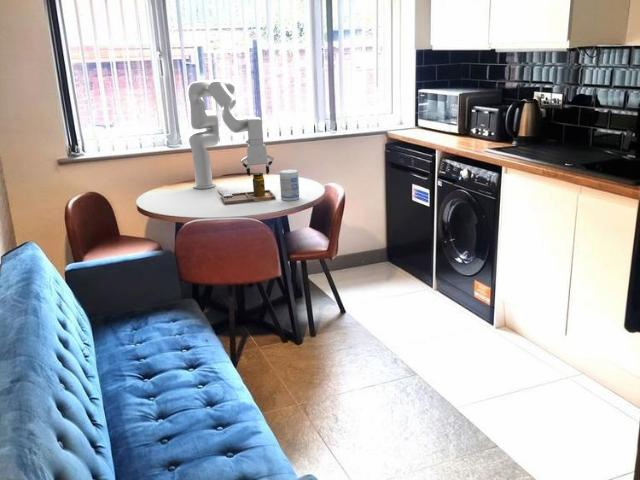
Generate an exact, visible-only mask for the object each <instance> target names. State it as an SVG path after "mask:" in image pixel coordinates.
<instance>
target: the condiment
mask: <svg viewBox="0 0 640 480" xmlns="http://www.w3.org/2000/svg"><path fill="white" fill-rule="evenodd" d="M252 187H253V191H254V194H253V195H249V196H250V197H252V198H258V197H264V196H268V195H265V190H266V187H265V177H264V173H263V172H254V173H253V174H252Z"/></svg>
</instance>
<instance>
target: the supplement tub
mask: <svg viewBox="0 0 640 480" xmlns="http://www.w3.org/2000/svg"><path fill="white" fill-rule="evenodd" d="M298 172H299V171H298V169H283V170H281V171H279V184H280V185H279V186H280V199H281V200H282V201H284V202H292V201H297V200H298V199H300V187H299V185H300V183H299V173H298Z"/></svg>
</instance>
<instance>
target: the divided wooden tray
mask: <svg viewBox="0 0 640 480" xmlns="http://www.w3.org/2000/svg"><path fill="white" fill-rule="evenodd" d="M231 194H232V195H233V198H228V199H227V198H224V196H223V195H224V194H220V196H221V197H220V198H221V200H222V202H223V204H224V206H225V205H235V204H243V203H252V202H253V203H254V202H264V201H272V200H276V195H275V194H274V193H273V192H272V191H271V189H265V195H268V196H264V197H258V198H252V197H250V196H249V195H253V194H254V190H253V191H245V192H235V193H234V192H233V193H231Z"/></svg>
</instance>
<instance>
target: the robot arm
mask: <svg viewBox="0 0 640 480" xmlns="http://www.w3.org/2000/svg"><path fill="white" fill-rule="evenodd" d="M235 90H236V89H235V85H234V83H233V82H232V81H231V80H229V79H210V80H198V81H194V82H191V83H190V84H188V87H187V90H186V91H187V92H186V93H187V99H188V103H189V113H190V114H189V115H190V117H189V118H190V125H191V127H192V128H193V129H195V130H198V131H194V132H192V133H191V134H190V135H189V139H188V142H189V146H190V149H191V153H192V162H193V169H194V170H193V171H194V178H195V179H194V180H195V183H194V184H193V187H192V188H193V189H197V190H198V189H199V190H203V189H204V190H205V189H212V188H215V187H216V183H215V182H213V176H212V165H211V164H212V163H211V156H210V153H209V151H208V150H207V148H209V147H214V146H216V145H218V143H219V142H220V141H219V140H220V131H219V130H220V129H219V117H218V115H217V114H216V112H215V111H214V110H210V109H208V110H206V103H205V100H204V99H203V98H209V97H212V98H213V100H214V101H215V102H216V103H217V104H218V106H220V108H221V117H222V121H223V122H224V125H226V126H227V128H228V129H229V130H230V131H231V132H232V133H235V134H238V133H243V132H247V135H248V136H247V137H248V139H247V140H245V143H246V144H247V147H246V156H245V157H243V158H242V159H241V160H240V163H241V165H242V166H243V167H245V168H246V175H247V176H248V177H251V169H250V167H251V166H256V165H257V166H258V165H265V174H267V175H269V173H270V166H271V165H272V164H273V161H274V156H270V155H268V151H267V147H266V144H265V143H264V132H263V120H262V119H261V118H260V117H255V116H250V115H246V116H245V115H244V116H237V117H236V116H234V114H232V112H231V110H232V109H234V107H235V106H236V104H237V101H236V98H235V97H234V96H233V94H234V93H235ZM203 129H205V130H203ZM268 159H269V161H268ZM245 162H247V164H246V163H245Z"/></svg>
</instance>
